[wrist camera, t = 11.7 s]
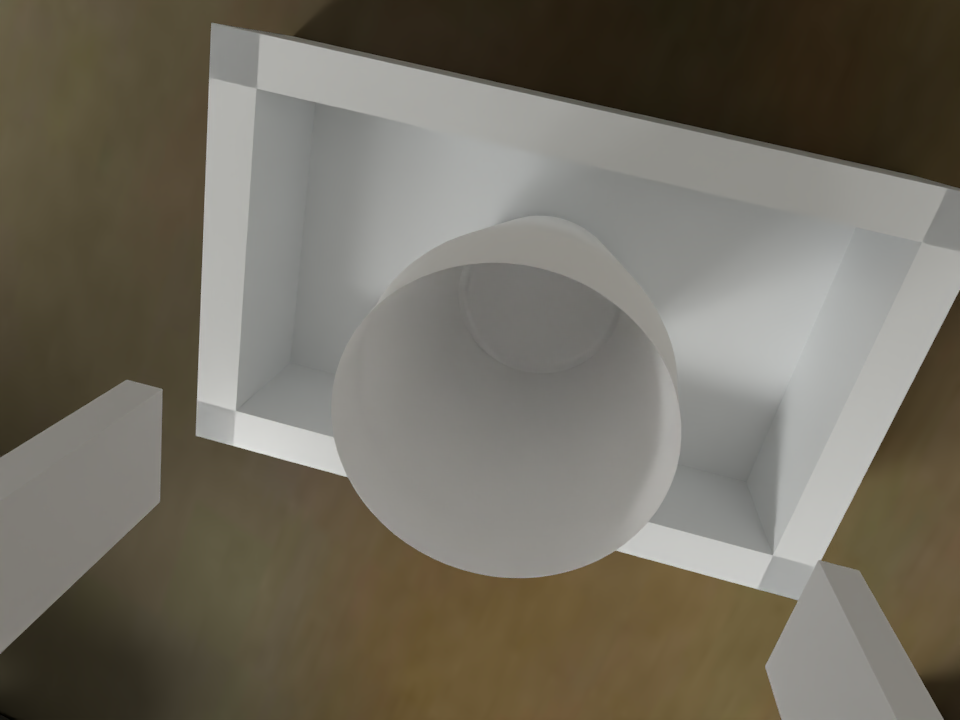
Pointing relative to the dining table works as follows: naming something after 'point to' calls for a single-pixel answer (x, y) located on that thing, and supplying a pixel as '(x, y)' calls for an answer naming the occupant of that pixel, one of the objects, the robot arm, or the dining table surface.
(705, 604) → the dining table surface
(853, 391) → the bin
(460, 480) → the cup
